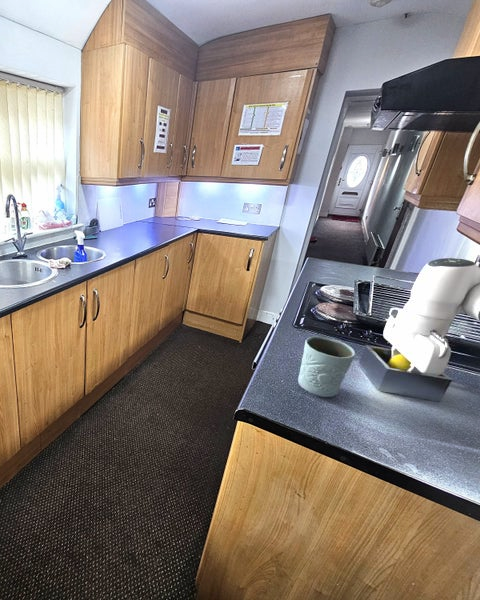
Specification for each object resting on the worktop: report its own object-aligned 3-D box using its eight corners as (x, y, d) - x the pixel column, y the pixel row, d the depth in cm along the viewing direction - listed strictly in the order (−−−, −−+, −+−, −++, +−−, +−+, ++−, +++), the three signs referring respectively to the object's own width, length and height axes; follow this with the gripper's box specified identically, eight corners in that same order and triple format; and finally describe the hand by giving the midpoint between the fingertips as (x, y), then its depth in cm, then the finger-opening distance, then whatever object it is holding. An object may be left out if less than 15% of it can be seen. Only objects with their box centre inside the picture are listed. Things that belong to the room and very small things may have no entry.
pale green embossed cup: (320, 402, 79) (335, 361, 74) (284, 378, 88) (296, 339, 83) (350, 393, 82) (366, 353, 77) (312, 370, 91) (324, 333, 86)
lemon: (410, 379, 87) (422, 353, 84) (410, 389, 84) (423, 363, 80) (383, 370, 91) (394, 346, 88) (382, 379, 87) (393, 354, 84)
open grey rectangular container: (411, 373, 91) (421, 353, 89) (440, 402, 80) (452, 379, 78) (357, 364, 95) (365, 344, 92) (377, 390, 84) (387, 368, 81)
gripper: (469, 345, 71) (441, 396, 76) (416, 309, 89) (396, 353, 94) (432, 339, 73) (408, 390, 78) (387, 306, 90) (369, 349, 96)
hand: (401, 369), depth 86 cm, fingers closed on lemon, 5 cm apart
